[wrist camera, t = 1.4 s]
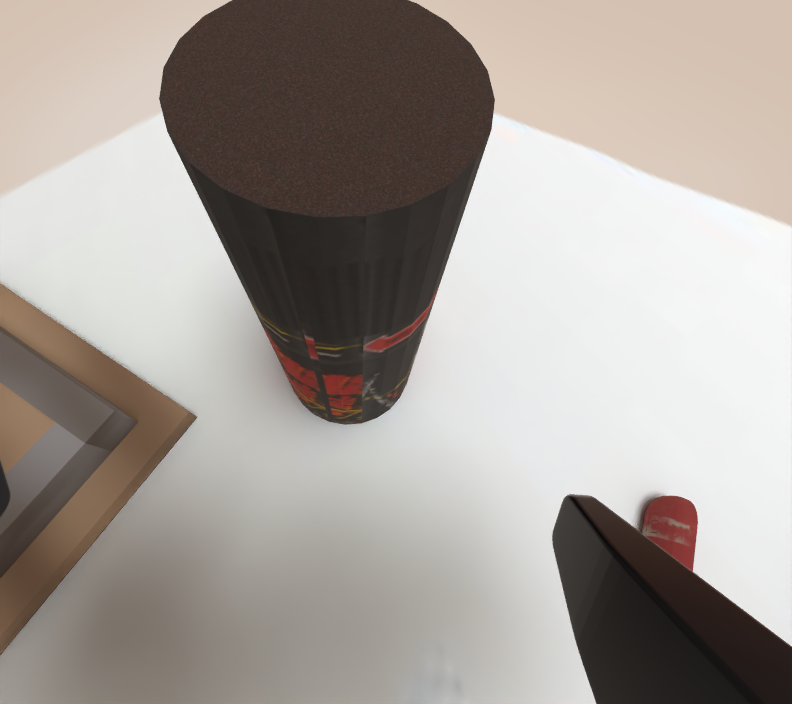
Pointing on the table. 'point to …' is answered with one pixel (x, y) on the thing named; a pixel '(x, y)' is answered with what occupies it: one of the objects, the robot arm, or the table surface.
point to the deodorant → (332, 176)
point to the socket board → (66, 451)
